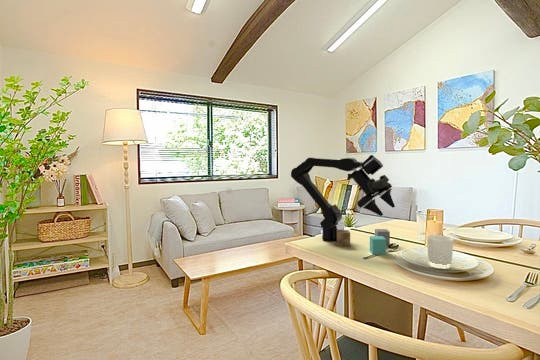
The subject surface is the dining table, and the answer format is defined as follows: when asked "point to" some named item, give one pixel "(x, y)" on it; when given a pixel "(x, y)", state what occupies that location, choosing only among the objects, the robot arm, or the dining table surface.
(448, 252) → the white cup
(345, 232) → the walnut block
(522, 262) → the dining table surface
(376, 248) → the teal block
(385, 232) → the grey block
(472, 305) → the dining table surface
